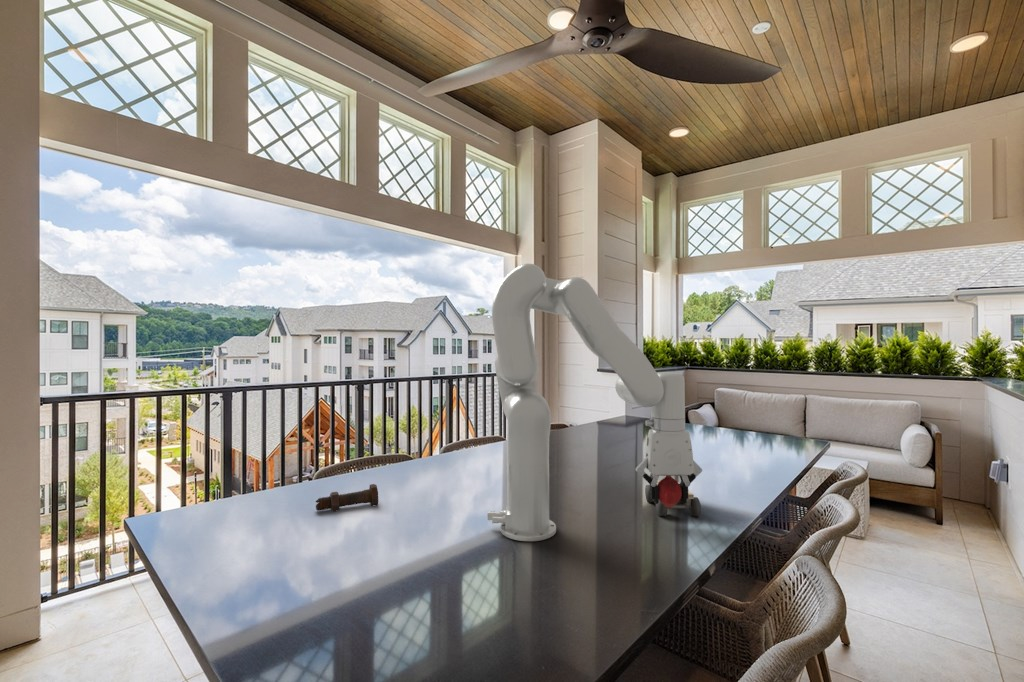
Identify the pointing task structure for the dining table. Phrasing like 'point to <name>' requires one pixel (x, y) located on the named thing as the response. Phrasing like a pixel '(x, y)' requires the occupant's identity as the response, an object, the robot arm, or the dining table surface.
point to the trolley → (662, 510)
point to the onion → (669, 491)
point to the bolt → (348, 499)
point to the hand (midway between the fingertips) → (669, 501)
